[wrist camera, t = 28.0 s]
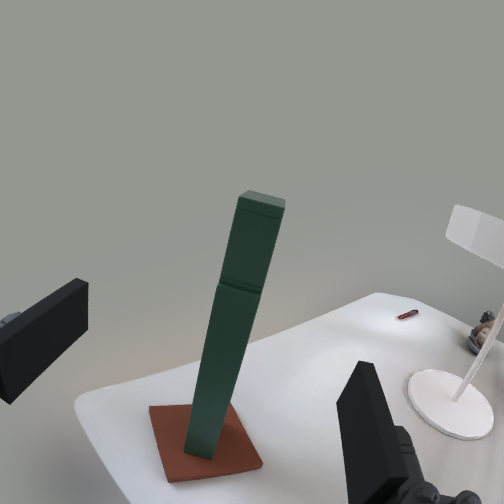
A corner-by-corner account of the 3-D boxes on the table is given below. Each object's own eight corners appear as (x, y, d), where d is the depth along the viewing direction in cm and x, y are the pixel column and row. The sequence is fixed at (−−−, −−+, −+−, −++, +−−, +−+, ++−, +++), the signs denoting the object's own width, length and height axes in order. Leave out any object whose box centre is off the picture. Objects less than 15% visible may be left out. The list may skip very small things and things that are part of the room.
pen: (395, 317, 75) (396, 315, 75) (414, 310, 84) (415, 308, 84) (400, 321, 74) (401, 319, 74) (419, 313, 83) (420, 311, 82)
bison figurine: (482, 360, 60) (501, 326, 57) (461, 349, 64) (479, 314, 61) (485, 346, 69) (500, 315, 66) (466, 336, 73) (481, 305, 70)
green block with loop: (183, 452, 27) (237, 197, 19) (197, 414, 32) (248, 189, 25) (212, 460, 26) (285, 209, 19) (222, 421, 32) (285, 198, 25)
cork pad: (168, 482, 23) (168, 478, 23) (148, 411, 32) (149, 405, 31) (261, 468, 28) (263, 463, 27) (228, 406, 36) (230, 400, 36)
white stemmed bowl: (432, 480, 27) (570, 248, 18) (359, 355, 55) (421, 191, 45) (530, 439, 31) (614, 286, 22) (459, 359, 59) (512, 234, 50)
